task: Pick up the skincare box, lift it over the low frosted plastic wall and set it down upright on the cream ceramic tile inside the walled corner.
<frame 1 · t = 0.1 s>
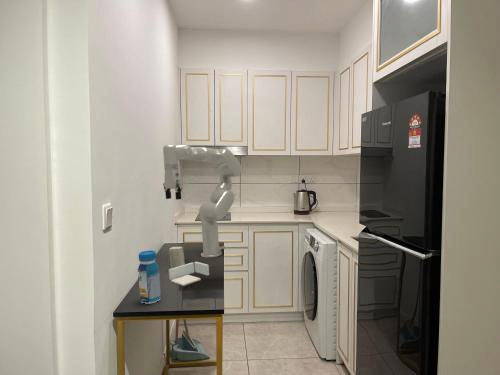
hand: (173, 199, 186), 37 cm above the table, tool pointing down, fingers open, 9 cm apart
beverage bottle: (150, 300, 139), on the table
wall long: (182, 275, 169), on the table
wall short: (201, 273, 171), on the table
skincare box: (178, 270, 178), on the table
tile: (185, 280, 161), on the table
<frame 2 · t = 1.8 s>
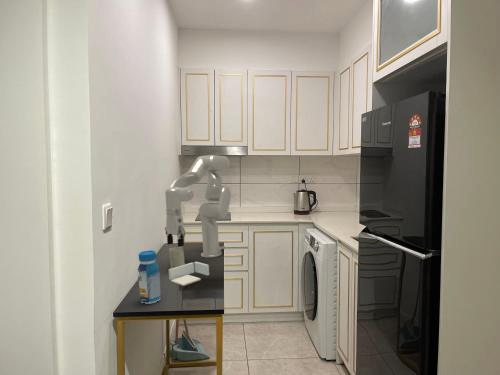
hand: (175, 245, 177), 14 cm above the table, tool pointing down, fingers open, 9 cm apart
nothing on the table moved.
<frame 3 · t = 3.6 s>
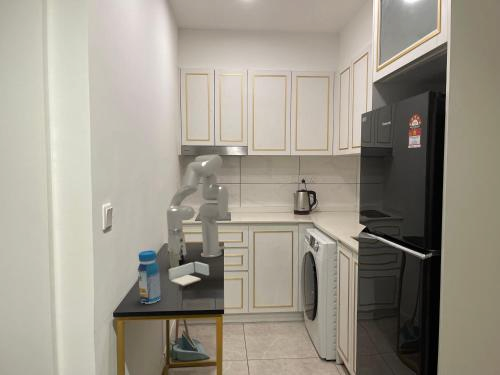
hand: (177, 265, 178), 3 cm above the table, tool pointing down, fingers closed on skincare box, 7 cm apart
skincare box: (177, 270, 178), on the table, touching gripper
everything else where it was.
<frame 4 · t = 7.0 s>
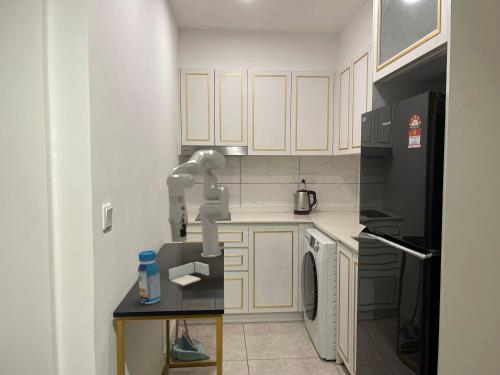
hand: (178, 235, 167), 20 cm above the table, tool pointing down, fingers closed on skincare box, 7 cm apart
skincare box: (179, 241, 168), point 17 cm above the table, touching gripper
everything else where it was.
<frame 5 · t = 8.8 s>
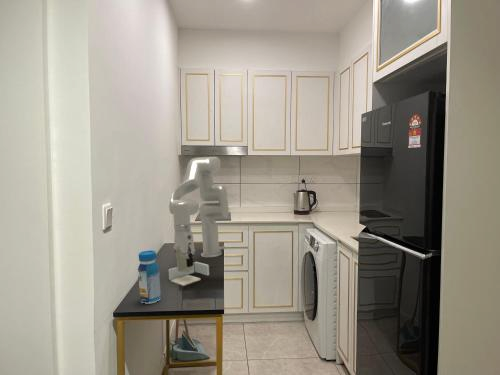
hand: (184, 264, 161), 8 cm above the table, tool pointing down, fingers closed on skincare box, 7 cm apart
skincare box: (185, 271, 161), point 5 cm above the table, touching gripper
everything else where it was.
when the fingers open (4 cm above the table, at t = 10.5 s): skincare box stays where it is, resting on tile.
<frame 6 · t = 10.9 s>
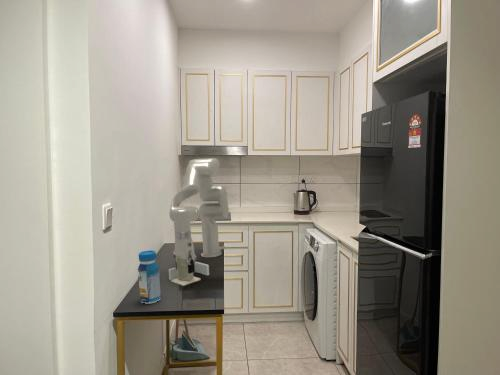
hand: (185, 270, 161), 5 cm above the table, tool pointing down, fingers open, 9 cm apart
skincare box: (185, 279, 161), resting on tile
everything else where it was.
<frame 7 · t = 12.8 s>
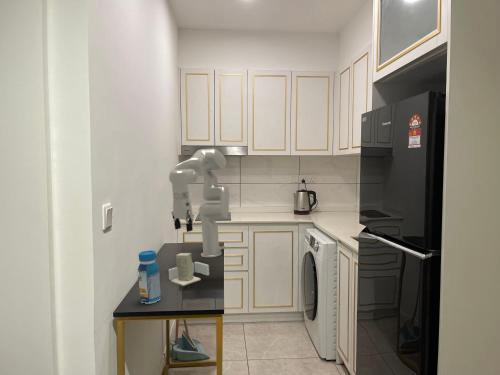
hand: (183, 230, 169), 23 cm above the table, tool pointing down, fingers open, 9 cm apart
nothing on the table moved.
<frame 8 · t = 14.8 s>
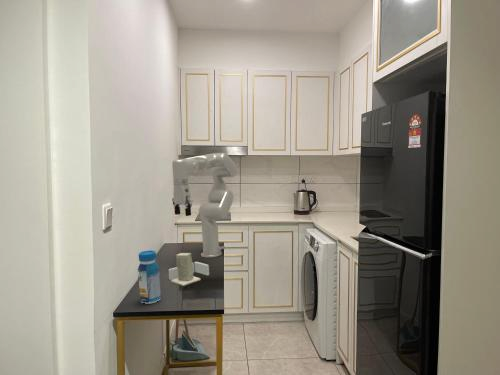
hand: (182, 215, 181), 28 cm above the table, tool pointing down, fingers open, 9 cm apart
nothing on the table moved.
at the end: skincare box inside the target area on the tile (0.3 cm from its centre), point 0.4 cm above the tile's base; skincare box tilted 0°; the gripper is holding nothing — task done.
